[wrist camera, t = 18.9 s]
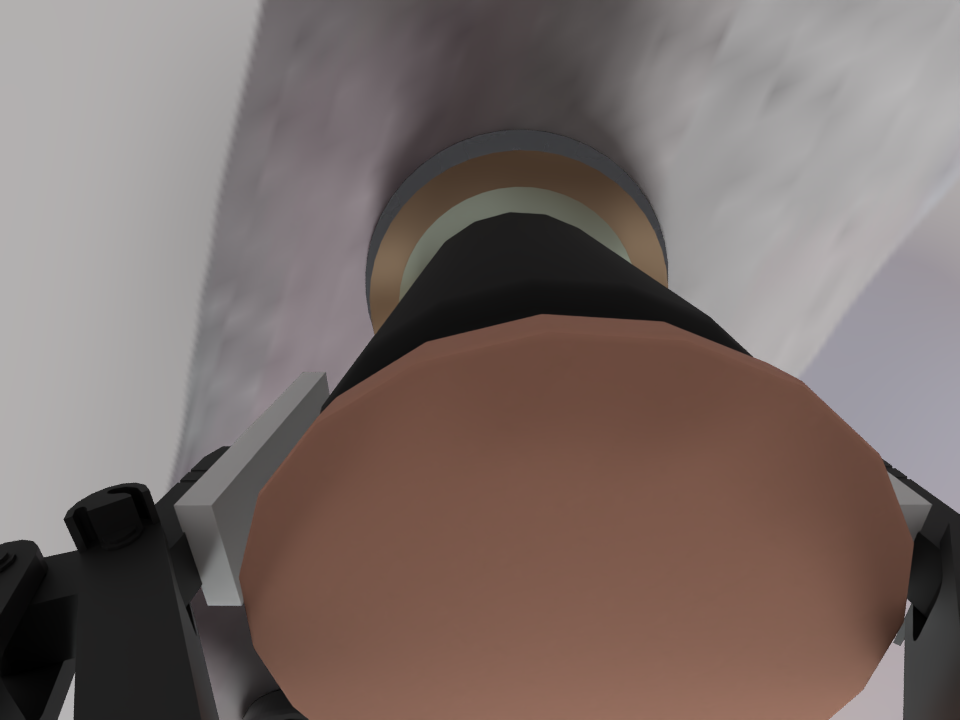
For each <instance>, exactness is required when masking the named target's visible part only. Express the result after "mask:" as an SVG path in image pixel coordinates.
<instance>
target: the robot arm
mask: <svg viewBox="0 0 960 720" xmlns="http://www.w3.org/2000/svg"><path fill="white" fill-rule="evenodd" d="M329 396H330V395H329V389H328V383H327V376H326V372H303V373H302V374H301V375H300V376H299V377H298V378H297V379H296V380H295V381H294V382H293V383H292V384H291V385H290V386H289V387H288V388H287V389H286V390H285V392H284V393H283V394H282V395H281V396H280V397H279V398H278V399H277V400H276V401H275V402H274V403H273V404H272V405H271V406H270V407H269V408H268V409H267V410H266V411H265V412H264V413H263V414H262V415H261V416H260V417H259V418H258V419H257V420H256V421H255V422H254V423H253V424H252V425H251V426H250V427H249V428H248V430H247V431H246V432H245V433H244V434H243V435H242V436H241V437H240V438H239V439H238V440H237V441H236V442H235V443H234V444H233V445H232V446H223V447H221V448H219V449H217V450H216V451H214V452H212V453H211V454H209V455H207V456H205V457H204V458H203V459H202V460H201V461H200V462H199V463H198V464H197V465H196V466H195V467H193V468H192V469H191V472H188V473H187V474H186V475H185V476H184V477H183V478H182V479H181V480H180V483H177V484H176V485H175V486H174V487H173V488H172V489H171V490H170V491H169V492H168V493H167V494H166V495H165V496H164V497H163V498H162V499H160V500H159V502H157V503H156V504H155V505H154V502H153V499H152V496H151V494H150V491H149V489H148V488H147V487H146V485H144V484H139V483H126V484H120V485H116V486H112V487H108V488H105V489H103V490H100V491H98V492H95V493H93V494H91V495H89V496H87V497H86V498H84V499H82V500H81V501H79V502H77V503H76V504H75V505H74V506H73V507H72V508H71V509H70V510H68V512H67V514H66V516H65V518H64V521H65V523H66V526H67V528H68V530H69V532H70V534H71V536H72V539H73V541H74V542H75V545H76V547H77V549H78V550H77V551H72V552H67V553H63V554H58V555H53V556H49V557H43V555H42V553H41V551H40V549H39V547H38V546H37V545H36V544H35V543H34V542H33V541H28V540H19V541H13V542H7V543H3V544H1V545H0V720H58V717H59V714H60V711H61V709H62V706H63V703H64V700H65V698H66V695H67V692H68V690H69V687H70V684H71V681H72V679H73V676H74V673H75V694H74V720H219V717H218V713H217V709H216V704H215V700H214V696H213V692H212V688H211V683H210V679H209V675H208V671H207V667H206V663H205V658H204V654H203V650H202V646H201V642H200V637H199V633H198V629H197V625H196V621H195V616H194V612H193V610H192V607H191V604H190V601H191V600H192V598H193V597H194V595H195V594H196V593H197V591H198V590H199V588H200V587H202V590H203V593H204V596H205V599H206V602H207V605H208V606H242V605H243V603H244V600H243V595H242V590H241V585H240V580H239V574H240V569H241V565H242V561H243V557H244V552H245V548H246V544H247V540H248V535H249V531H250V527H251V523H252V519H253V514H254V510H255V506H256V502H257V498H258V493H259V492H260V491H261V489H262V488H263V487H264V485H265V484H266V483H267V481H268V480H269V479H270V478H271V476H272V475H273V474H274V472H275V471H276V470H277V469H278V467H279V466H280V465H281V463H282V462H283V461H284V459H285V458H286V457H287V456H288V454H289V453H290V452H291V450H292V449H293V448H294V447H295V445H296V444H297V443H298V441H299V440H300V439H301V437H302V436H303V435H304V434H305V432H306V431H307V430H308V428H309V427H310V426H311V425H312V423H313V422H314V421H315V419H316V418H317V417H318V416H319V414H320V411H321V407H322V405H323V404H324V403H325V401H326V400H327V399H328V397H329ZM882 460H883V459H882ZM883 462H884V465H885V467H886V470H887V473H888V475H889V478H890V481H891V483H892V486H893V489H894V491H895V494H896V497H897V499H898V502H899V505H900V507H901V510H902V513H903V515H904V518H905V521H906V523H907V526H908V529H909V532H910V534H911V537H912V540H913V542H914V546H913V554H912V562H911V570H910V578H909V585H908V593H907V599H908V600H909V601H910V602H911V606H910V608H909V610H908V612H907V614H906V616H905V618H904V623H903V624H902V626H901V628H900V629H899V631H898V633H897V636H896V638H895V640H894V643H895V644H897V645H899V646H901V644H902V642H903V641H904V640H905V656H904V658H905V659H904V707H903V720H960V514H958V513H957V512H956V511H954V510H953V509H951V508H950V507H949V506H947V505H946V504H944V503H943V502H942V501H940V500H939V499H938V498H936V497H935V496H933V495H932V494H931V493H929V492H928V491H926V490H925V489H923V488H922V487H921V486H919V485H918V484H917V483H915V482H914V481H912V480H911V479H907V476H905V475H904V474H903V473H901V472H900V471H898V470H897V469H896V468H892V466H891V465H890V464H889V463H887V462H886V461H884V460H883ZM243 720H309V719H308V718H306V717H305V716H304V715H303V714H302V713H300V712H299V711H298V710H297V709H295V708H294V707H293V706H292V704H291V703H290V701H289V700H288V698H287V697H286V695H285V694H284V692H283V691H282V690H279V691H276V692H272V693H270V694H267V695H265V696H263V697H261V698H260V699H258V700H257V701H255V702H254V703H253V704H252V705H251V706H250V707H249V709H248V710H247V712H246V714H245V717H244V719H243Z"/></svg>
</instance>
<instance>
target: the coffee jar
mask: <svg viewBox="0 0 960 720" xmlns="http://www.w3.org/2000/svg"><path fill="white" fill-rule="evenodd" d="M913 546H914V542H913V540H912V537H911V534H910V532H909V529H908V526H907V523H906V521H905V518H904V515H903V513H902V510H901V507H900V505H899V502H898V499H897V497H896V494H895V491H894V489H893V486H892V483H891V481H890V478H889V475H888V473H887V470H886V467H885V465H884V462H883V460H882V458H881V456H880V455H879V453H878V452H876V450H874V449H873V448H872V447H871V446H870V445H869V444H868V443H867V442H866V441H865V440H864V439H863V438H862V437H861V436H860V435H858V434H857V433H856V432H855V431H854V430H853V429H852V428H851V427H850V426H849V425H848V424H847V423H846V422H845V421H843V419H842V418H840V417H839V416H838V415H837V414H836V413H835V412H834V411H833V410H832V409H831V408H830V407H829V406H828V405H827V404H826V403H825V402H824V401H822V400H821V399H820V398H819V397H818V396H817V395H816V394H815V393H814V392H813V391H812V390H811V389H810V388H809V387H808V386H807V385H805V384H804V383H803V382H802V381H801V380H799V379H797V378H795V377H793V376H791V375H789V374H788V373H786V372H784V371H782V370H780V369H778V368H776V367H774V366H772V365H770V364H768V363H766V362H764V361H761V360H758V359H756V358H754V357H753V356H752V355H751V354H749V353H748V352H747V351H746V350H745V349H744V348H743V347H742V346H741V345H740V344H739V343H738V342H736V341H735V340H734V339H733V338H732V337H731V336H730V335H729V334H728V333H727V332H726V331H725V330H723V329H722V328H721V327H720V326H719V325H718V324H717V323H716V322H715V321H714V320H713V319H712V318H711V317H709V316H708V315H706V314H705V313H703V312H702V311H700V310H699V309H697V308H696V307H694V306H693V305H691V304H690V303H689V302H687V301H686V300H684V299H683V298H681V297H680V296H678V295H677V294H675V293H674V292H672V291H671V290H669V289H668V288H666V287H665V286H663V285H662V284H661V283H659V282H658V281H656V280H655V279H653V278H652V277H650V276H649V275H647V274H646V273H644V272H643V271H641V270H640V269H638V268H637V267H635V266H634V265H633V264H631V263H630V262H628V261H627V260H625V259H624V258H622V257H621V256H619V255H618V254H616V253H615V252H613V251H612V250H610V249H609V248H607V247H606V246H604V245H603V244H602V243H600V242H599V241H597V240H596V239H594V238H593V237H591V236H590V235H588V234H587V233H585V232H584V231H582V230H581V229H579V228H578V227H575V226H573V225H570V224H568V223H566V222H563V221H561V220H558V219H556V218H553V217H551V216H549V215H546V214H533V213H516V212H508V213H504V214H501V215H497V216H493V217H490V218H486V219H482V220H479V221H475V222H473V223H472V224H470V225H469V226H467V227H466V228H464V229H463V230H461V231H460V232H458V233H457V234H455V235H454V236H452V237H451V238H449V239H448V240H446V241H445V242H444V244H443V245H442V246H441V247H440V249H439V250H438V251H437V253H436V254H435V255H434V257H433V258H432V259H431V260H430V262H429V263H428V264H427V266H426V267H425V268H424V270H423V271H422V272H421V274H420V275H419V276H418V278H417V279H416V280H415V282H414V283H413V284H412V286H411V287H410V288H409V290H408V291H407V293H406V294H405V295H404V297H403V298H402V299H401V301H400V302H399V303H398V305H397V306H396V307H395V309H394V310H393V311H392V313H391V314H390V315H389V317H388V318H387V319H386V321H385V322H384V323H383V325H382V326H381V327H380V329H379V330H378V331H377V333H376V334H375V335H374V337H373V338H372V340H371V341H370V342H369V344H368V345H367V346H366V348H365V349H364V350H363V352H362V353H361V354H360V356H359V357H358V358H357V360H356V361H355V362H354V364H353V365H352V366H351V368H350V369H349V370H348V372H347V373H346V374H345V376H344V377H343V378H342V380H341V381H340V382H339V384H338V385H337V387H336V388H335V389H334V391H333V392H332V393H331V395H330V396H329V397H328V399H327V400H326V401H325V403H324V404H323V405H322V407H321V411H320V414H319V416H318V417H317V418H316V419H315V421H314V422H313V423H312V425H311V426H310V427H309V428H308V430H307V431H306V432H305V434H304V435H303V436H302V437H301V439H300V440H299V441H298V443H297V444H296V445H295V447H294V448H293V449H292V450H291V452H290V453H289V454H288V456H287V457H286V458H285V459H284V461H283V462H282V463H281V465H280V466H279V467H278V469H277V470H276V471H275V472H274V474H273V475H272V476H271V478H270V479H269V480H268V481H267V483H266V484H265V485H264V487H263V488H262V489H261V491H260V492H259V493H258V498H257V502H256V506H255V510H254V514H253V519H252V523H251V527H250V531H249V535H248V540H247V544H246V548H245V552H244V557H243V561H242V565H241V569H240V574H239V580H240V585H241V590H242V595H243V600H244V604H245V609H246V614H247V619H248V624H249V628H250V633H251V638H252V643H253V647H254V649H255V650H256V652H257V653H258V655H259V656H260V658H261V659H262V661H263V662H264V664H265V665H266V667H267V668H268V670H269V671H270V673H271V674H272V676H273V677H274V679H275V680H276V682H277V683H278V685H279V686H280V688H281V689H282V691H283V692H284V694H285V695H286V697H287V698H288V700H289V701H290V703H291V704H292V706H293V707H294V708H295V709H297V710H298V711H299V712H300V713H302V714H303V715H304V716H305V717H306V718H308V719H309V720H829V719H830V718H831V717H832V716H833V715H834V714H836V713H837V712H838V711H839V710H840V709H841V708H843V707H844V706H845V705H846V704H847V703H848V702H850V701H851V700H852V699H853V698H854V697H855V696H856V695H858V694H859V693H860V692H861V691H862V690H863V689H864V687H865V686H866V684H867V682H868V681H869V679H870V677H871V676H872V674H873V672H874V671H875V669H876V668H877V666H878V664H879V662H880V661H881V659H882V658H883V656H884V654H885V652H886V651H887V649H888V648H889V646H890V644H891V643H892V641H893V639H894V638H895V636H896V634H897V633H898V631H899V629H900V628H901V626H902V624H903V623H904V616H905V609H906V601H907V593H908V585H909V578H910V570H911V562H912V554H913Z"/></svg>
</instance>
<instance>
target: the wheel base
mask: <svg viewBox="0 0 960 720" xmlns="http://www.w3.org/2000/svg"><path fill="white" fill-rule="evenodd" d="M513 150H526V151H542V152H547V153H553V154H559V155H562V156H565V157H568V158H571V159H574V160H577V161H580V162H582V163H584V164H586V165H588V166H590V167H592V168H594V169H596V170H598V171H600V172H601V173H603V174H604V175H606V176H607V177H609V178H610V179H611V180H613V181H614V182H616V183H617V184H618V185H619V186H620V187H621V188H622V189H623V190H624V191H625V192H626V193H628V194H629V195H630V196H631V197H632V198H633V200H634V201H635V202H636V204H637V205H638V206H639V207H640V209H641V210H642V211H643V212H644V214H645V215H646V217H647V219H648V221H649V222H650V224H651V226H652V228H653V229H654V231H655V234H656V236H657V239H658V241H659V244H660V246H661V249H662V252H663V257H664V261H665V265H666V270H667V281H668V261H667V254H666V248H665V242H664V239H663V236H662V232H661V229H660V226H659V223H658V221H657V218H656V216H655V214H654V212H653V210H652V208H651V206H650V204H649V202H648V201H647V199H646V198H645V196H644V195H643V193H642V192H641V190H640V189H639V187H638V186H637V185H636V184H635V183H634V181H633V180H632V179H631V178H630V177H629V176H628V175H627V174H626V173H625V171H624V170H622V169H621V168H620V167H619V166H618V165H616V164H615V163H614V162H613V161H611V160H610V159H609V158H608V157H606V156H605V155H603V154H601V153H600V152H598V151H596V150H595V149H593V148H591V147H590V146H588V145H586V144H583V143H581V142H578V141H576V140H574V139H571V138H569V137H565V136H561V135H557V134H553V133H549V132H544V131H533V130H505V131H497V132H492V133H487V134H482V135H478V136H475V137H472V138H469V139H467V140H464V141H461V142H458V143H456V144H454V145H452V146H450V147H448V148H447V149H445V150H443V151H441V152H439V153H437V154H436V155H435V156H433V157H432V158H430V159H429V160H428V161H426V162H425V163H423V164H422V165H421V166H420V167H418V168H417V169H416V170H415V171H414V172H413V173H412V174H411V175H410V176H409V177H408V178H407V179H406V180H405V181H404V182H403V183H402V185H401V186H400V187H399V189H398V190H397V191H396V192H395V194H394V195H393V196H392V197H391V199H390V201H389V203H388V204H387V206H386V208H385V209H384V211H383V213H382V215H381V217H380V219H379V221H378V224H377V226H376V229H375V231H374V234H373V237H372V241H371V244H370V248H369V252H368V258H367V266H366V298H367V305H368V312H369V315H370V319H371V310H370V286H371V276H372V271H373V267H374V262H375V258H376V255H377V253H378V250H379V247H380V244H381V241H382V239H383V237H384V235H385V234H386V232H387V230H388V228H389V226H390V224H391V222H392V221H393V220H394V218H395V217H396V215H397V214H398V212H399V211H400V210H401V208H402V207H403V206H404V205H405V204H406V202H407V201H408V200H409V199H410V198H411V197H412V196H413V195H414V194H415V193H416V192H417V191H418V190H419V189H420V188H422V187H423V186H424V185H425V184H427V183H428V182H429V181H430V180H432V179H433V178H434V177H436V176H438V175H439V174H441V173H443V172H444V171H446V170H448V169H449V168H451V167H453V166H455V165H458V164H460V163H462V162H465V161H467V160H469V159H472V158H476V157H479V156H483V155H487V154H491V153H496V152H504V151H513ZM371 322H372V319H371ZM372 326H373V324H372Z"/></svg>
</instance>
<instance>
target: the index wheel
mask: <svg viewBox="0 0 960 720" xmlns="http://www.w3.org/2000/svg"><path fill="white" fill-rule="evenodd" d="M508 212H516V213H533V214H546V215H549V216H551V217H553V218H556V219H558V220H561V221H563V222H566V223H568V224H570V225H573V226H575V227H578V228H579V229H581V230H582V231H584V232H585V233H587V234H588V235H590V236H591V237H593V238H594V239H596V240H597V241H599V242H600V243H602V244H603V245H604V246H606V247H607V248H609V249H610V250H612V251H613V252H615V253H616V254H618V255H619V256H621V257H622V258H624V259H625V260H627V261H628V262H630V263H631V264H633V265H634V266H635V267H637V268H638V269H640V270H641V271H643V272H644V273H646V274H647V275H649V276H650V277H652V278H653V279H655V280H656V281H658V282H659V283H661V284H662V285H663V286H665V287H666V288H668V281H667V270H666V265H665V261H664V257H663V252H662V249H661V246H660V244H659V241H658V239H657V236H656V234H655V231H654V229H653V228H652V226H651V224H650V222H649V221H648V219H647V217H646V215H645V214H644V212H643V211H642V210H641V209H640V207H639V206H638V205H637V204H636V202H635V201H634V200H633V198H632V197H631V196H630V195H629V194H628V193H626V192H625V191H624V190H623V189H622V188H621V187H620V186H619V185H618V184H617V183H616V182H614V181H613V180H611V179H610V178H609V177H607V176H606V175H604V174H603V173H601V172H600V171H598V170H596V169H594V168H592V167H590V166H588V165H586V164H584V163H582V162H580V161H577V160H574V159H571V158H568V157H565V156H562V155H559V154H553V153H547V152H542V151H526V150H513V151H504V152H496V153H491V154H487V155H483V156H479V157H476V158H472V159H469V160H467V161H465V162H462V163H460V164H458V165H455V166H453V167H451V168H449V169H448V170H446V171H444V172H443V173H441V174H439V175H438V176H436V177H434V178H433V179H432V180H430V181H429V182H428V183H427V184H425V185H424V186H423V187H422V188H420V189H419V190H418V191H417V192H416V193H415V194H414V195H413V196H412V197H411V198H410V199H409V200H408V201H407V202H406V204H405V205H404V206H403V207H402V208H401V210H400V211H399V212H398V214H397V215H396V217H395V218H394V220H393V221H392V222H391V224H390V226H389V228H388V230H387V232H386V234H385V235H384V237H383V239H382V241H381V244H380V247H379V250H378V253H377V255H376V258H375V262H374V267H373V271H372V276H371V286H370V310H371V319H372V324H373V329H374V334H376V333H377V331H378V330H379V329H380V327H381V326H382V325H383V323H384V322H385V321H386V319H387V318H388V317H389V315H390V314H391V313H392V311H393V310H394V309H395V307H396V306H397V305H398V303H399V302H400V301H401V299H402V298H403V297H404V295H405V294H406V293H407V291H408V290H409V288H410V287H411V286H412V284H413V283H414V282H415V280H416V279H417V278H418V276H419V275H420V274H421V272H422V271H423V270H424V268H425V267H426V266H427V264H428V263H429V262H430V260H431V259H432V258H433V257H434V255H435V254H436V253H437V251H438V250H439V249H440V247H441V246H442V245H443V244H444V242H445V241H446V240H448V239H449V238H451V237H452V236H454V235H455V234H457V233H458V232H460V231H461V230H463V229H464V228H466V227H467V226H469V225H470V224H472V223H473V222H475V221H479V220H482V219H486V218H490V217H493V216H497V215H501V214H504V213H508Z"/></svg>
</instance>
